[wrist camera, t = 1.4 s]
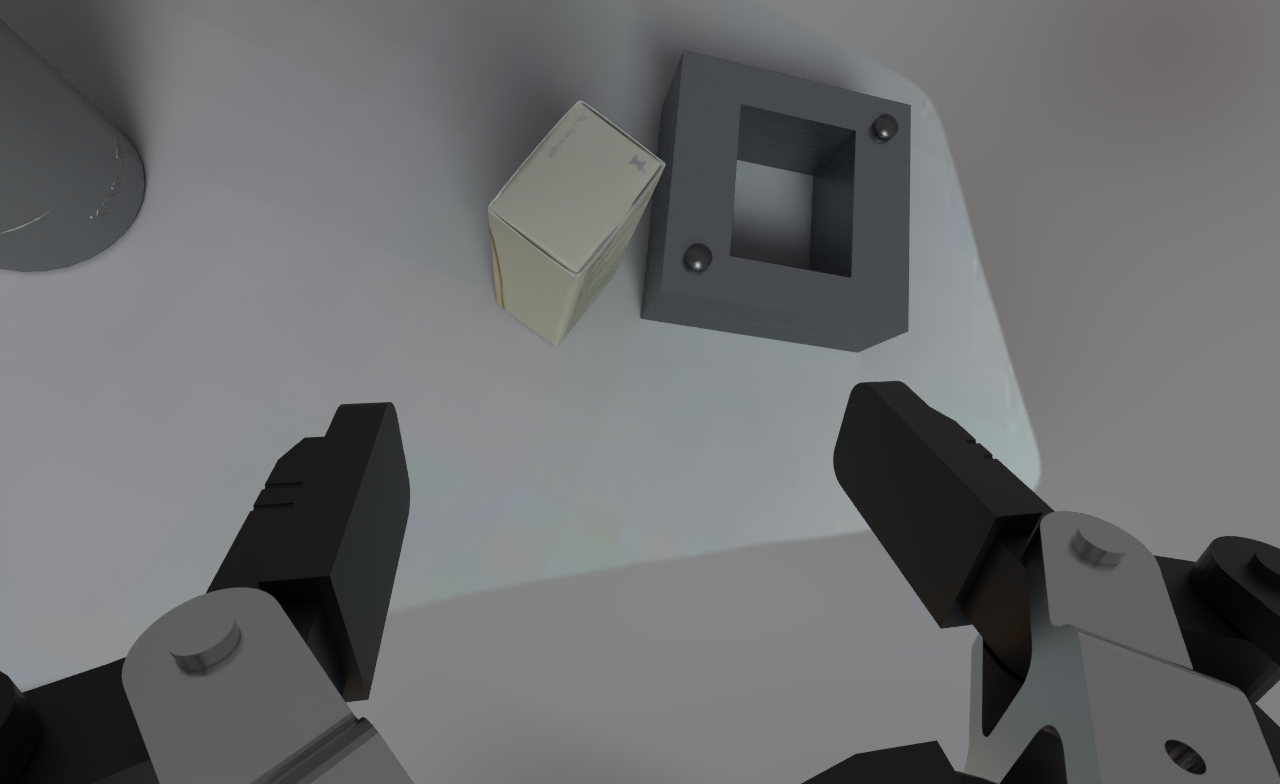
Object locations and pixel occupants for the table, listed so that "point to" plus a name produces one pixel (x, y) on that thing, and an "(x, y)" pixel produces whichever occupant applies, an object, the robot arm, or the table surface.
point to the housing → (841, 213)
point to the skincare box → (568, 220)
